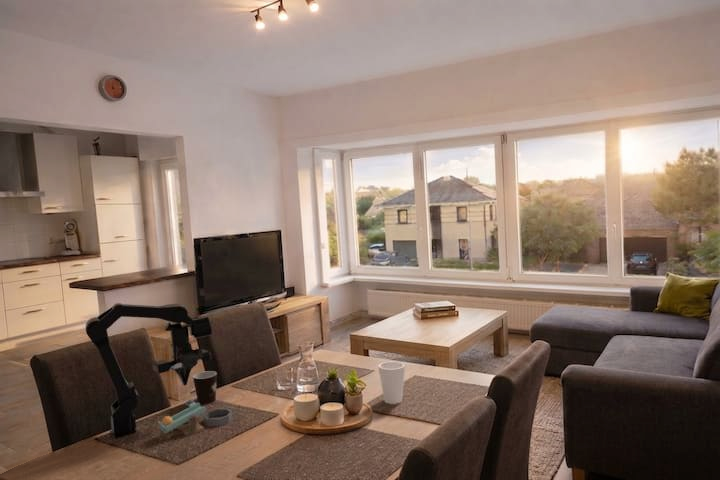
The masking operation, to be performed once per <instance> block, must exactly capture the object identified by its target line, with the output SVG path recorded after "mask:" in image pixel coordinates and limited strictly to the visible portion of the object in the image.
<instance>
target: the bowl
mask: <svg viewBox="0 0 720 480" xmlns="http://www.w3.org/2000/svg"><path fill="white" fill-rule="evenodd" d="M202 417H203V418H202V419H203V424H204V425H206V426H207V427H221V426H223V425H226V424H229V423H230V422H231V421H232V420H233V411H232V410H231V409H229V408H215V409H212V410H208V411H206V413H204V415H203V416H202Z"/></svg>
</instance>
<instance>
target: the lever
mask: <svg viewBox="0 0 720 480" xmlns="http://www.w3.org/2000/svg"><path fill="white" fill-rule="evenodd" d="M184 404H185V405H186V406H188V407H187V408H186V409H184V410H182V411H180V412H178V413H176V414H173V416H170V417H171V418H172V420H173V422H172V424H170V425H168V426H166V427H165V425H164V424H162V421H161V420H159V421H158V422H157V424H158V426H159V428H160V429H159V430H160V431H161V430H162V431H163V432H164V433H167V432H170V431H172V430H175V429H176V427H178V426H180V425H182V424H184V423H185V422H187V421H190V417H193V416H195V417H196V418H197V417H198V416H201V415H202V414H205V412H206V413H207V411H206V410H207V409H206V406H204V405H203V406H201V404H200V403H199V402H198V401H197V402H196V401H194V399H193V398H191V399H188V400H186V401H185V402H184Z"/></svg>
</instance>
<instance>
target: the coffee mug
mask: <svg viewBox="0 0 720 480" xmlns="http://www.w3.org/2000/svg"><path fill="white" fill-rule="evenodd" d="M217 375H218V373H217V371H214V370H207V371H200V372H197V373H194V374H193V376H192V379H193V383H194V384H193V385H194V389H195V394H196V399H197V403H198V402H199V403H200V405H209V404H212V403H214V402H216V399H217V397H216V395H217V382H218V381H217V377H218V376H217Z"/></svg>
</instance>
